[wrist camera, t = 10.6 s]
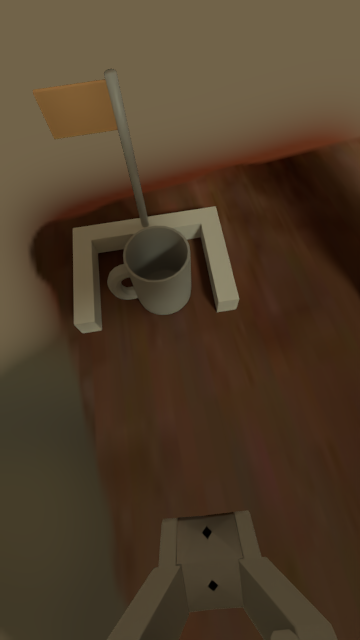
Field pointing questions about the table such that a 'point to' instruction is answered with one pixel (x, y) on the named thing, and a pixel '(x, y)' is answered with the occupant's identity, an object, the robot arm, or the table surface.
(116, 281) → the cup
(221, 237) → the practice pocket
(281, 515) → the table surface
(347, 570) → the table surface
